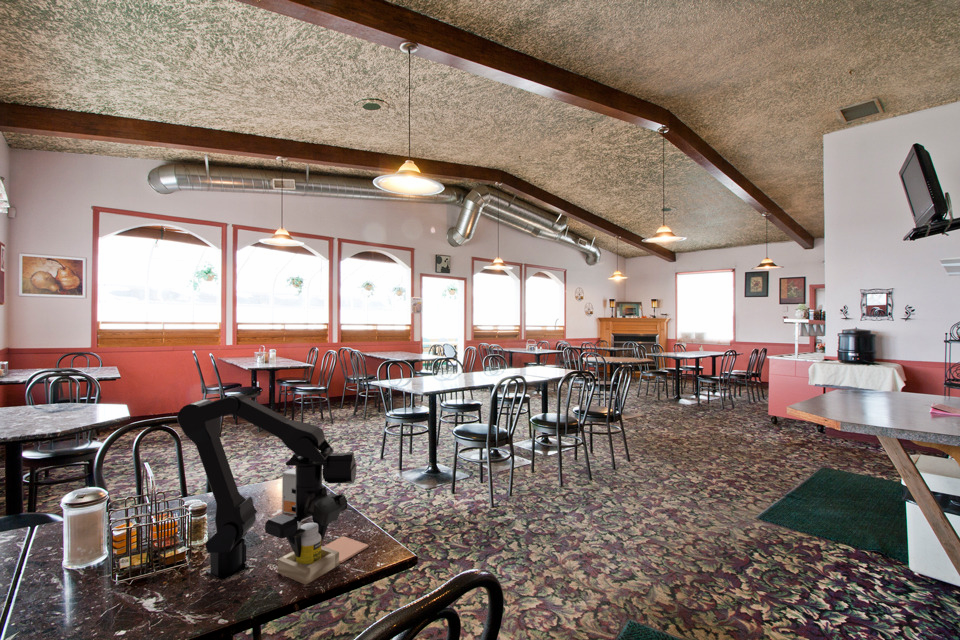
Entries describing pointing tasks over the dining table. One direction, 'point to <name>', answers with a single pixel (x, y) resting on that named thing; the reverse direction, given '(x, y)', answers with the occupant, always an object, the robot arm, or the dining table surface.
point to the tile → (346, 547)
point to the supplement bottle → (310, 545)
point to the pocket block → (311, 572)
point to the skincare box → (288, 491)
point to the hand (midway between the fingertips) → (308, 551)
